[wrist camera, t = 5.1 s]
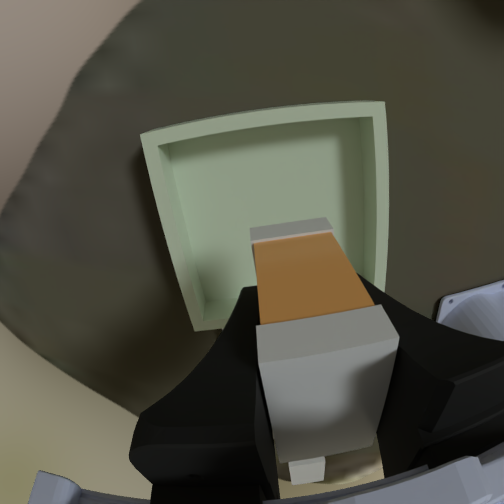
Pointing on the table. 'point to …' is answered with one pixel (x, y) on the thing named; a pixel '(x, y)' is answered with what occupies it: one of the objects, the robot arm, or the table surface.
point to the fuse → (307, 470)
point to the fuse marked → (318, 342)
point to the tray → (267, 192)
